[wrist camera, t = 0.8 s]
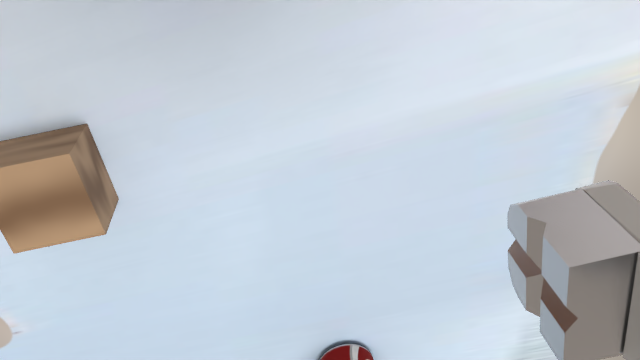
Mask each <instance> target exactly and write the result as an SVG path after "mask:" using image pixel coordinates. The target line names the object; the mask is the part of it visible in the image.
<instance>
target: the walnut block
mask: <svg viewBox="0 0 640 360" xmlns="http://www.w3.org/2000/svg"><path fill="white" fill-rule="evenodd" d="M118 200H119V199H118V196H117V194H116V191H115V189H114V187H113V184H112V182H111V179H110V177H109V175H108V172H107V170H106V168H105V165H104V163H103V160H102V158H101V156H100V153H99V151H98V148H97V146H96V144H95V141H94V139H93V137H92V134H91V132H90V129H89V127H88V125H87V124H83V125H78V126H73V127H68V128H63V129H58V130H53V131H49V132H44V133H39V134H34V135H29V136H24V137H19V138H14V139H9V140H4V141H0V230H1V232H2V234H3V235H4V237H5V239H6V241H7V242H8V244H9V246H10V248H11V249H12V251H13V253H19V252H23V251H28V250H33V249H38V248H42V247H47V246H52V245H57V244H62V243H66V242H71V241H76V240H81V239H86V238H90V237H95V236H100V235H105V234H106V232H107V230H108V227H109V224H110V221H111V219H112V216H113V213H114V210H115V208H116V205H117V202H118Z"/></svg>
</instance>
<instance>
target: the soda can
mask: <svg viewBox="0 0 640 360" xmlns="http://www.w3.org/2000/svg"><path fill="white" fill-rule="evenodd" d="M320 360H373V357H372V354H371V353H370V352H369V351H368V350H367V349H366V348H364V347H362V346H360V345H356V344H343V345H339V346H336V347H333V348H331V349H330V350H328V351H327V352H326V353H325V354H324V355H323V356H322V357H321V359H320Z"/></svg>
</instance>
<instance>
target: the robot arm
mask: <svg viewBox="0 0 640 360" xmlns="http://www.w3.org/2000/svg"><path fill="white" fill-rule="evenodd" d="M508 229H509V230H510V232H511V233H512V234H513V236H514V237H515V239H516V240H515V241H514V243H513V244H512V245H511V247H510V248H509V250H508V267H509V272H510V276H511V280H512V284H513V287H514V289H515V291H516V294H517V296H518V298H519V300H520V301H521V303H522V304H523V306H524V308H525V309H526V310H527V311H529V312H531V313H533V314H535V315H537V316H539V317H540V333H541V334H542V336H543V337H544V339H545V340H546V342H547V343H548V345H549V346H550V348H551V350H552V351H553V353H554V354H555V356H556V357H557V359H558V360H600V359H605V358H609V357H615V356H619V355H623V358H624V359H626V360H640V201H639V200H637V199H636V198H635V197H634V196H633V195H631V194H630V193H629V192H628V191H627V190H625V189H624V188H623V187H622V186H621V185H619V184H618V183H616V182H613V181H609V180H608V181H604V182H600V183H596V184H592V185H588V186H584V187H580V188H576V189H575V190H573V191H568V192H564V193H560V194H555V195H551V196H547V197H542V198H538V199H534V200H529V201H525V202H521V203H516V204H512V205H510V207H509V211H508Z"/></svg>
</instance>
